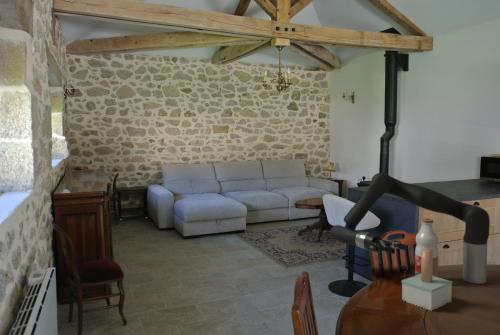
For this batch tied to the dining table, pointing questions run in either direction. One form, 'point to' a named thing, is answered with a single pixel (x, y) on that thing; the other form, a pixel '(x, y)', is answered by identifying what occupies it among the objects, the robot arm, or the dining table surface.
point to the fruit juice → (426, 245)
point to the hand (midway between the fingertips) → (400, 249)
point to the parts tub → (426, 296)
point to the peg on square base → (427, 275)
